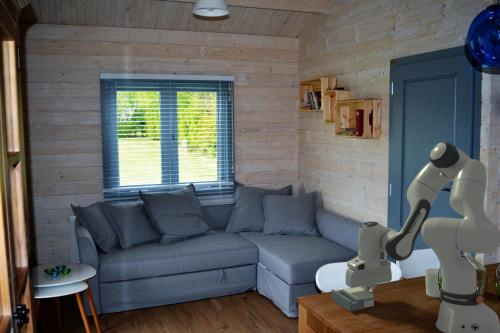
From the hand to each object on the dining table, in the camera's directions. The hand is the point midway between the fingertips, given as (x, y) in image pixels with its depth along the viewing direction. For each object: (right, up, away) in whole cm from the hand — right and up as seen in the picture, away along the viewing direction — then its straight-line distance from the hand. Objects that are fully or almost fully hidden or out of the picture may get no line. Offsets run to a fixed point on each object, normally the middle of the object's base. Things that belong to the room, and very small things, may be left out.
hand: (369, 294), depth 201 cm
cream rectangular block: (-5, -3, -3) cm, 7 cm away
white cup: (+28, -1, +4) cm, 29 cm away
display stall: (-10, -3, -4) cm, 11 cm away
